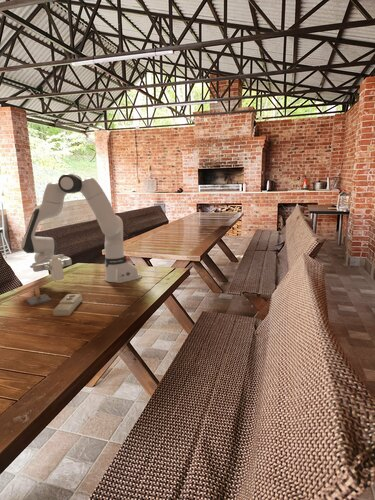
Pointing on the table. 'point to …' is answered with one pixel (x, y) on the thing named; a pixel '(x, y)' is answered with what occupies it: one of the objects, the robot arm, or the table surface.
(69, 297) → the electrical outlet
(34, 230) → the robot arm
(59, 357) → the table surface
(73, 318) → the table surface
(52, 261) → the tapered lotion bottle
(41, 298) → the peg stand
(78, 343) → the table surface
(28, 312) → the table surface
